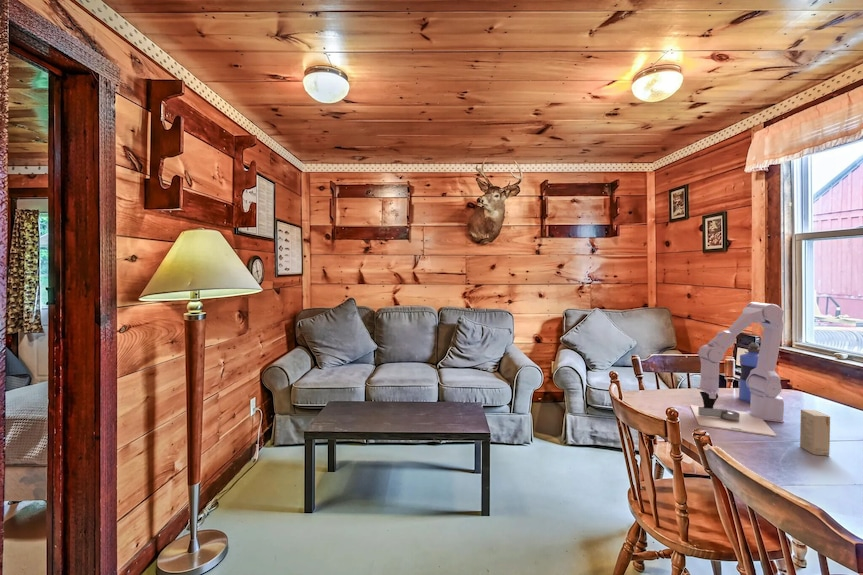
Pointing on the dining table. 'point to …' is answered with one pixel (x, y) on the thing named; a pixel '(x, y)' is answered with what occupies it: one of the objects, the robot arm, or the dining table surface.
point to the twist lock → (719, 413)
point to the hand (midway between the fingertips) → (708, 411)
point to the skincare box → (815, 432)
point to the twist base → (735, 423)
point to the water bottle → (747, 370)
